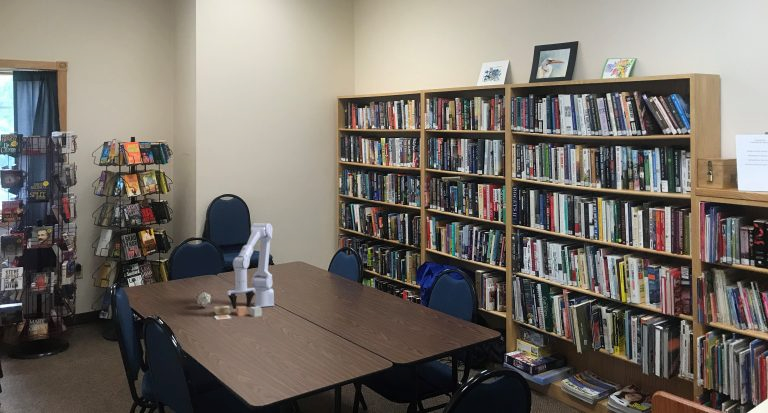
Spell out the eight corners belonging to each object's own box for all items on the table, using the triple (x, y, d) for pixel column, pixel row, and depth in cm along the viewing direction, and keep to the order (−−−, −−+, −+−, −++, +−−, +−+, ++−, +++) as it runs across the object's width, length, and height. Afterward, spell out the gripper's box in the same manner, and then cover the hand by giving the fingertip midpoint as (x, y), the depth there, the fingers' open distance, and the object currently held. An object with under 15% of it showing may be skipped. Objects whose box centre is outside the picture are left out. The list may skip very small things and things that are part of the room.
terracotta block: (244, 313, 313) (244, 305, 312) (246, 315, 308) (246, 307, 308) (236, 314, 311) (236, 306, 311) (238, 316, 306) (238, 308, 306)
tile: (228, 315, 307) (228, 314, 307) (231, 318, 301) (231, 317, 301) (214, 316, 304) (214, 315, 304) (216, 319, 298) (216, 318, 298)
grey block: (256, 314, 311) (256, 306, 310) (261, 315, 307) (261, 307, 307) (249, 315, 308) (249, 307, 308) (254, 317, 304) (254, 308, 304)
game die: (207, 310, 318) (207, 291, 317) (192, 310, 320) (192, 291, 319) (215, 307, 327) (215, 288, 326) (201, 306, 328) (200, 288, 328)
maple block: (228, 311, 318) (228, 305, 318) (230, 314, 312) (230, 308, 311) (214, 312, 315) (214, 306, 315) (216, 315, 309) (216, 309, 309)
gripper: (250, 278, 316) (250, 304, 317) (224, 281, 307) (224, 308, 308) (257, 280, 311) (257, 306, 312) (230, 283, 302) (230, 310, 302)
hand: (241, 307), depth 309 cm, fingers open, 7 cm apart
